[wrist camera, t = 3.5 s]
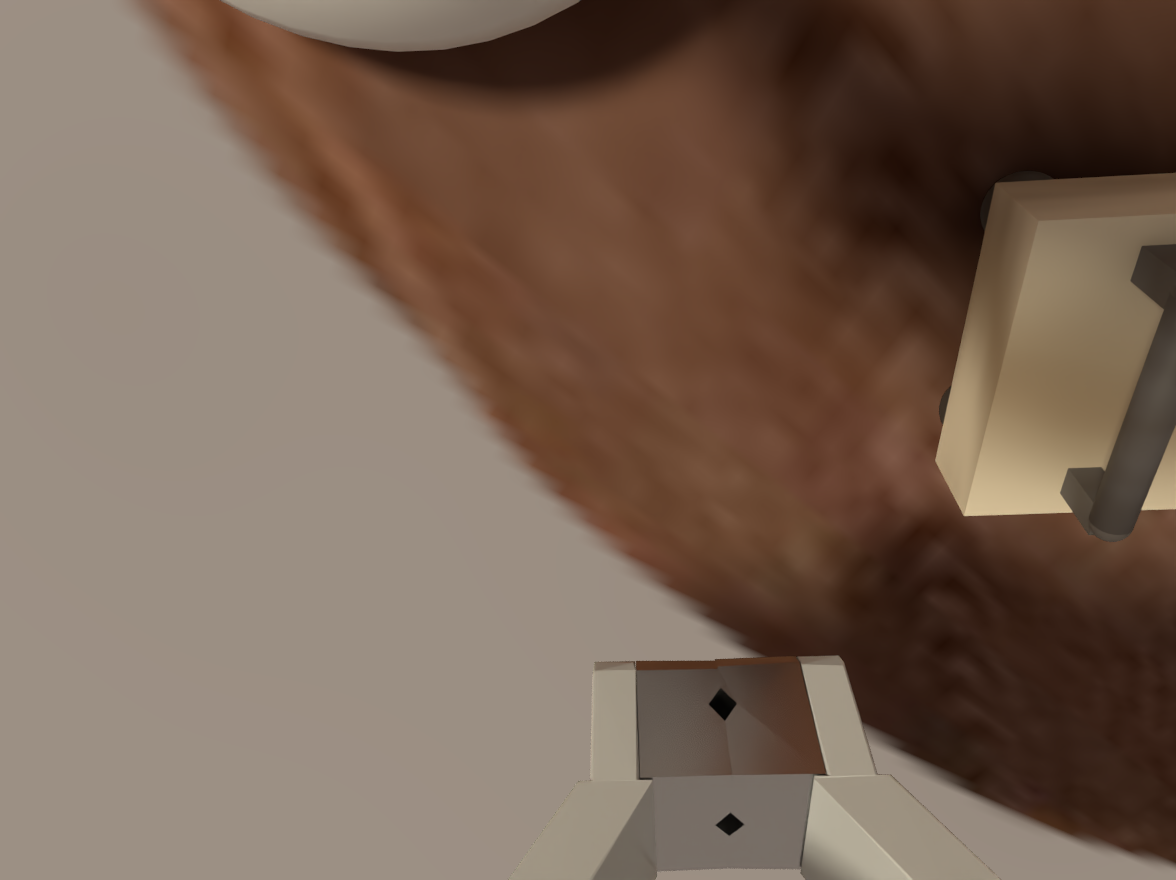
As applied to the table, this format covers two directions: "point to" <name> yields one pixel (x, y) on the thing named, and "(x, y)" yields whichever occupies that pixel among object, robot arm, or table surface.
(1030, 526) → the table surface
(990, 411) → the cart
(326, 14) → the flower in vase
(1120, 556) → the table surface
